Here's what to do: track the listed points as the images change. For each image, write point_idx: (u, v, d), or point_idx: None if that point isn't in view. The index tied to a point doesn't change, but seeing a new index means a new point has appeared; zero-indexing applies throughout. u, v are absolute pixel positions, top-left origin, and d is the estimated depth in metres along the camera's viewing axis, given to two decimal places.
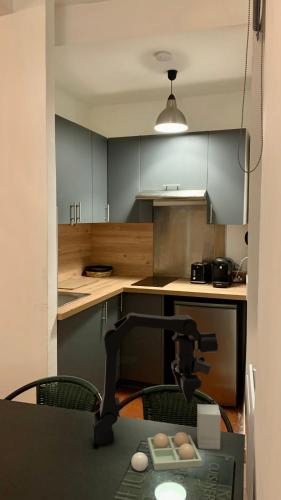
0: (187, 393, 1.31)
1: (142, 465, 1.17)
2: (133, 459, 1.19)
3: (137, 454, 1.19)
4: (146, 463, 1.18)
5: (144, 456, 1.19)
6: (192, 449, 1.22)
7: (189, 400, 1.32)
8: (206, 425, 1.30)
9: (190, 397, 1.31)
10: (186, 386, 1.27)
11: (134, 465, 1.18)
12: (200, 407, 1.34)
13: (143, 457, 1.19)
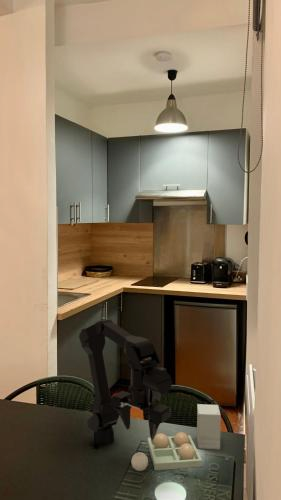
0: (154, 428, 1.15)
1: (142, 465, 1.17)
2: (133, 459, 1.19)
3: (137, 454, 1.19)
4: (146, 463, 1.18)
5: (144, 456, 1.19)
6: (192, 449, 1.22)
7: (154, 435, 1.16)
8: (206, 425, 1.30)
9: (155, 431, 1.16)
10: (162, 420, 1.11)
11: (134, 465, 1.18)
12: (200, 407, 1.34)
13: (143, 457, 1.19)
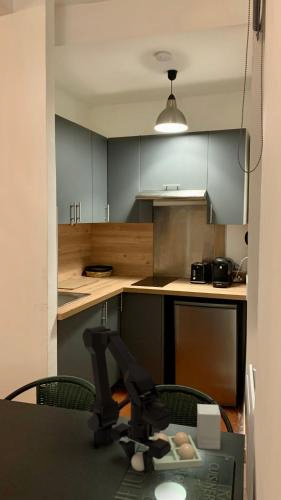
0: (148, 460, 1.17)
1: (142, 465, 1.17)
2: (133, 459, 1.19)
3: (137, 454, 1.19)
4: None
5: None
6: (192, 449, 1.22)
7: (148, 467, 1.18)
8: (206, 425, 1.30)
9: (149, 463, 1.18)
10: (161, 456, 1.12)
11: (134, 465, 1.18)
12: (200, 407, 1.34)
13: None
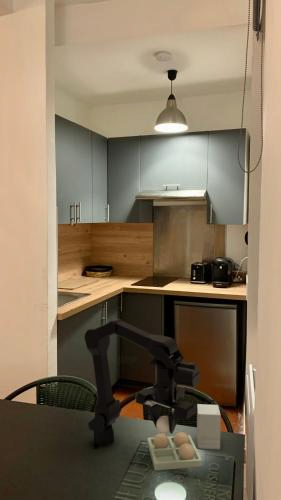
0: (173, 422, 1.19)
1: (167, 427, 1.19)
2: (158, 422, 1.21)
3: (162, 417, 1.22)
4: None
5: None
6: (192, 449, 1.22)
7: (173, 429, 1.20)
8: (206, 425, 1.30)
9: (174, 425, 1.20)
10: (187, 417, 1.14)
11: (159, 427, 1.20)
12: (200, 407, 1.34)
13: None
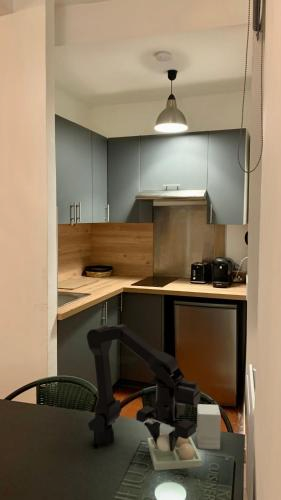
0: (174, 441, 1.19)
1: (167, 446, 1.20)
2: (159, 440, 1.22)
3: (162, 435, 1.22)
4: None
5: None
6: (192, 449, 1.22)
7: (173, 447, 1.21)
8: (206, 425, 1.30)
9: (175, 443, 1.21)
10: (188, 436, 1.15)
11: (160, 446, 1.21)
12: (200, 407, 1.34)
13: None
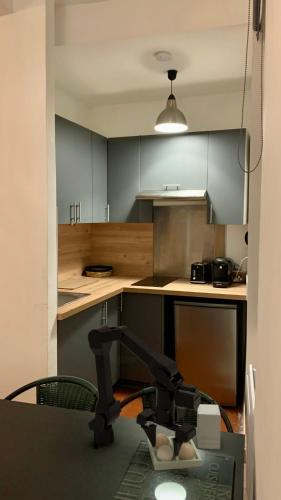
0: (178, 446, 1.19)
1: (167, 457, 1.20)
2: (159, 451, 1.22)
3: (162, 446, 1.22)
4: (171, 455, 1.21)
5: (169, 448, 1.22)
6: (192, 449, 1.22)
7: (178, 452, 1.20)
8: (206, 425, 1.30)
9: (179, 449, 1.20)
10: (188, 440, 1.15)
11: (160, 457, 1.21)
12: (200, 407, 1.34)
13: (169, 449, 1.22)
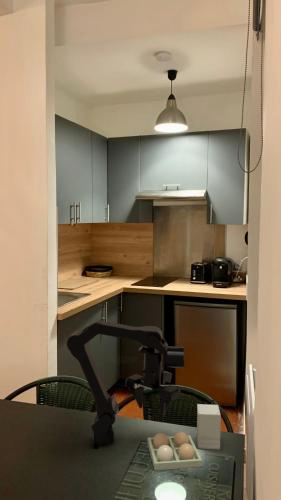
0: (164, 406, 1.27)
1: (167, 457, 1.20)
2: (159, 451, 1.22)
3: (163, 447, 1.22)
4: (171, 455, 1.21)
5: (169, 449, 1.22)
6: (192, 449, 1.22)
7: (164, 413, 1.29)
8: (206, 425, 1.30)
9: (166, 409, 1.29)
10: (171, 399, 1.24)
11: (160, 457, 1.21)
12: (200, 407, 1.34)
13: (169, 449, 1.22)
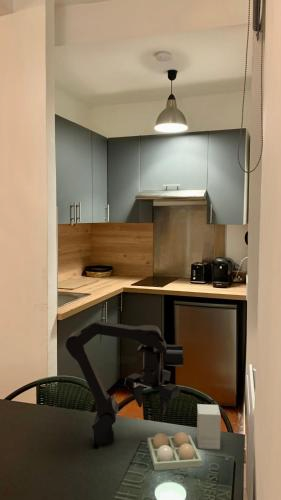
0: (164, 405, 1.28)
1: (167, 458, 1.20)
2: (159, 451, 1.22)
3: (163, 447, 1.22)
4: (172, 456, 1.21)
5: (170, 449, 1.22)
6: (192, 449, 1.22)
7: (164, 411, 1.29)
8: (206, 425, 1.30)
9: (165, 408, 1.29)
10: (171, 397, 1.25)
11: (160, 457, 1.21)
12: (200, 407, 1.34)
13: (169, 449, 1.22)
